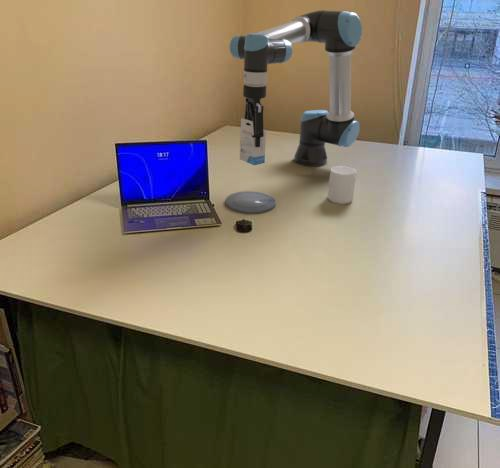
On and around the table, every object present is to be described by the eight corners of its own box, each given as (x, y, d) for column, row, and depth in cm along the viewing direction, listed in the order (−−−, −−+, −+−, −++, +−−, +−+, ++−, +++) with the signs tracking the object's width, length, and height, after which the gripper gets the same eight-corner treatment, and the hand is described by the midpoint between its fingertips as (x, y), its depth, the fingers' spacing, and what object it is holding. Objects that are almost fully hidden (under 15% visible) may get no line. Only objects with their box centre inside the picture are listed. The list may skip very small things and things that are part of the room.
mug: (337, 206, 177) (340, 175, 171) (318, 194, 186) (321, 165, 181) (357, 202, 180) (362, 172, 175) (338, 191, 190) (342, 163, 185)
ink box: (265, 163, 167) (267, 120, 161) (254, 165, 165) (256, 122, 158) (249, 157, 173) (251, 115, 167) (238, 159, 170) (240, 117, 164)
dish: (267, 192, 186) (267, 189, 185) (281, 211, 170) (281, 207, 170) (221, 195, 182) (221, 192, 181) (231, 215, 166) (232, 211, 165)
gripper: (236, 79, 166) (234, 143, 176) (252, 90, 147) (249, 161, 157) (257, 79, 168) (254, 142, 178) (276, 90, 149) (272, 160, 159)
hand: (252, 151), depth 167 cm, fingers closed on ink box, 9 cm apart
